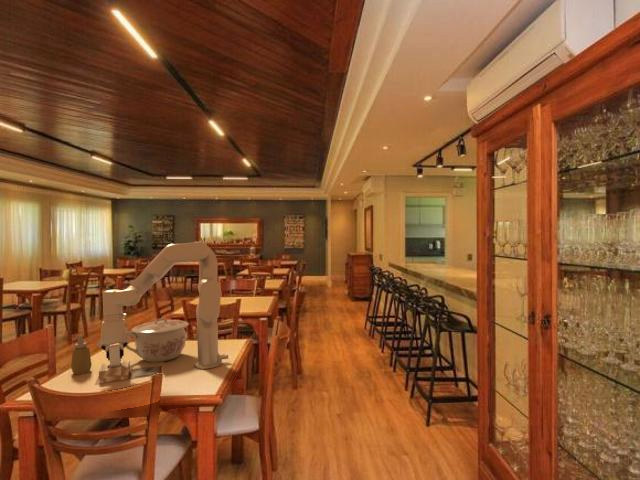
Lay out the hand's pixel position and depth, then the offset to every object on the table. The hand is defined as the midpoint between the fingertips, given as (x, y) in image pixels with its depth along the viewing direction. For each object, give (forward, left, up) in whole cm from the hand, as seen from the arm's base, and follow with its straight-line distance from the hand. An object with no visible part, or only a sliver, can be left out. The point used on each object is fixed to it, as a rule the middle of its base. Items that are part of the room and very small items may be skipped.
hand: (115, 358), depth 168 cm
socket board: (-6, 0, -9) cm, 11 cm away
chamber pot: (-19, -22, -9) cm, 30 cm away
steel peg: (0, 0, -6) cm, 6 cm away
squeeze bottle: (+15, -14, -9) cm, 23 cm away
